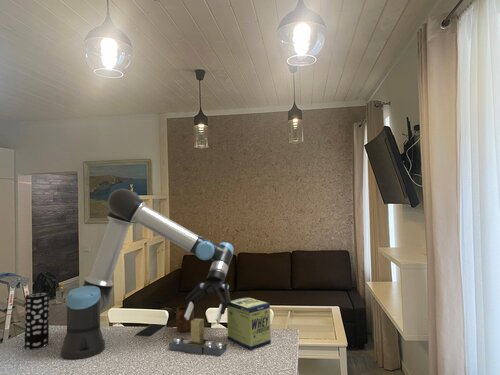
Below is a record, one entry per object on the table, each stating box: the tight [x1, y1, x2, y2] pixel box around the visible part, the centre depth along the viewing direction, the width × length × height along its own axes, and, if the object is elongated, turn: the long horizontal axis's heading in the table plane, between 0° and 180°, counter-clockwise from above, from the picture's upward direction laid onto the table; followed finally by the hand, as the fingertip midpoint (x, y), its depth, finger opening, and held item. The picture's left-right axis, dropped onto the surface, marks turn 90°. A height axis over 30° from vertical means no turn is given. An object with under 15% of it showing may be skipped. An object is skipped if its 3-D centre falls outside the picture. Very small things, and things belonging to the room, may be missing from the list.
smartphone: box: [133, 323, 167, 339], centre depth 153 cm, size 8×1×15 cm
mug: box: [175, 305, 195, 333], centre depth 153 cm, size 12×8×9 cm, turn 166°
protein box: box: [226, 296, 272, 351], centre depth 139 cm, size 10×16×16 cm
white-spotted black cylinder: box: [23, 292, 50, 350], centre depth 141 cm, size 8×8×20 cm
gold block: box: [190, 317, 205, 345], centre depth 132 cm, size 4×4×11 cm
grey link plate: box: [168, 337, 228, 357], centre depth 131 cm, size 21×7×3 cm, turn 71°
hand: (201, 319), depth 136 cm, fingers open, 13 cm apart
